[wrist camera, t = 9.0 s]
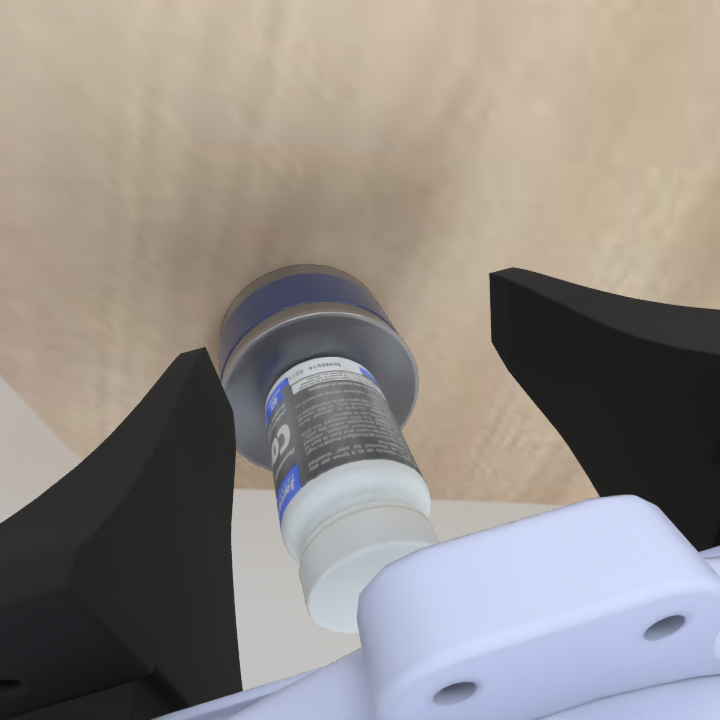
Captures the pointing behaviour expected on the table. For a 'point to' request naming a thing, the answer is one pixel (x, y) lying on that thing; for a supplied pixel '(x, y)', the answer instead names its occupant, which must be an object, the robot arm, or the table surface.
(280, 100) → the table surface
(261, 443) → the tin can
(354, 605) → the pill bottle
